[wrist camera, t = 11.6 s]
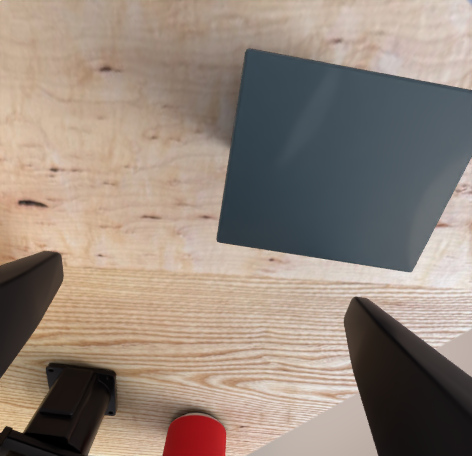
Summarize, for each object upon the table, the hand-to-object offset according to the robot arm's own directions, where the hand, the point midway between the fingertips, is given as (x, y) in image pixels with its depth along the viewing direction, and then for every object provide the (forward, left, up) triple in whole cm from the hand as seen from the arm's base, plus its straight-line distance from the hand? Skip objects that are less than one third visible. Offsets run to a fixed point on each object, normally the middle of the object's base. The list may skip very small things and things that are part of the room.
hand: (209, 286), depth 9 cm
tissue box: (+1, -3, -6) cm, 7 cm away
